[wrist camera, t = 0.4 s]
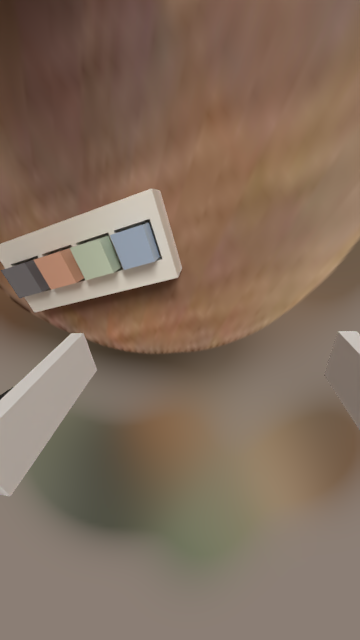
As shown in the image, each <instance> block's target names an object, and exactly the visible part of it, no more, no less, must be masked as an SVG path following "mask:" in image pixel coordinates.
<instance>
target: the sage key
mask: <svg viewBox="0 0 360 640" xmlns="http://www.w3.org/2000/svg"><path fill="white" fill-rule="evenodd" d="M70 250H71V252H72V254H73V256H74V258H75V260H76V262H77V264H78V266H79V268H80V270H81V272H82V274H83V276H84V278H85V280H89V279H93V278H96V277H100V276H104V275H107V274H111V273H114V272H115V271H117V270H118V269H120V268H121V265H120V263H119V260H118V258H117V255H116V253H115V251H114V248H113V246H112V243H111V241H110V238H109V236H106V237H103V238H99V239H96V240H93V241H90V242H87V243H84V244H81V245H78V246H75V247H72V248H70Z"/></svg>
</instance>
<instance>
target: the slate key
mask: <svg viewBox="0 0 360 640" xmlns="http://www.w3.org/2000/svg"><path fill="white" fill-rule="evenodd" d="M110 237H111V239H112V242H113V244H114V247H115V249H116V252H117V254H118V256H119V259H120V261H121V264H122V266H123V269H124V270H126V269H129V268H133V267H137V266H140V265H144V264H148V263H152V262H155V261H156V260H157V259H158V258H159V257H160V255H159V252H158V249H157V246H156V243H155V240H154V237H153V234H152V231H151V227H150V224H149V223H146V224H143V225H140V226H136V227H133V228H130V229H127V230H124V231H121V232H118V233H115V234H112V235H110Z"/></svg>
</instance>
